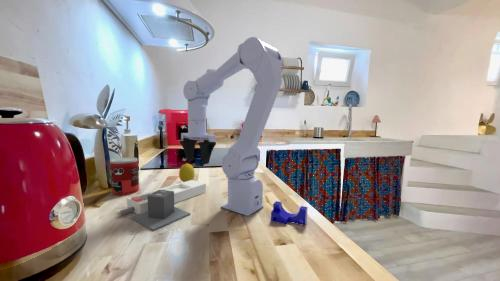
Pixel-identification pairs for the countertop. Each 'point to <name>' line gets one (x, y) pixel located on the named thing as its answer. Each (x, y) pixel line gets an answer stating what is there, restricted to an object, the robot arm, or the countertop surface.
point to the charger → (160, 204)
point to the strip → (181, 190)
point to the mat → (158, 223)
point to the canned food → (124, 175)
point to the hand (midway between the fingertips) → (197, 162)
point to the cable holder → (288, 214)
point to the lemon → (186, 172)
